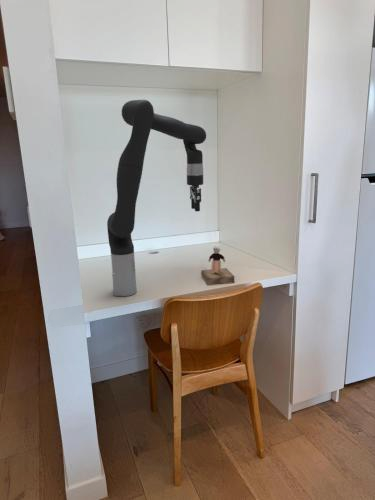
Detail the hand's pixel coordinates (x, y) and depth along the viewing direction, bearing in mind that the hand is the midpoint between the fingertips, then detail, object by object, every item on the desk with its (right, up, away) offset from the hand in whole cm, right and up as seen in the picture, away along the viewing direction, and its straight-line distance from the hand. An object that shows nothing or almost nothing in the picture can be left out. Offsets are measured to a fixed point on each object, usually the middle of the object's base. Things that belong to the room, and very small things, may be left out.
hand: (195, 209), depth 159 cm
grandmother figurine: (+9, -29, -5) cm, 31 cm away
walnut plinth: (+10, -32, -4) cm, 33 cm away
